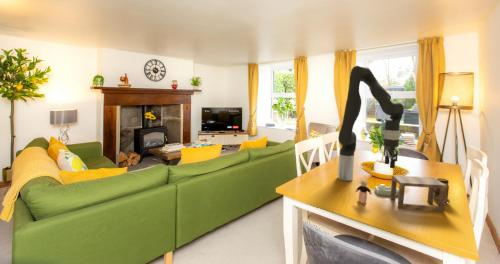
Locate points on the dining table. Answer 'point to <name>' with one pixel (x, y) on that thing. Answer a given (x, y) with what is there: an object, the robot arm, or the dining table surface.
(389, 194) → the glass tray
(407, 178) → the brown wooden side table
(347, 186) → the dining table surface
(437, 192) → the condiment
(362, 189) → the grandmother figurine
